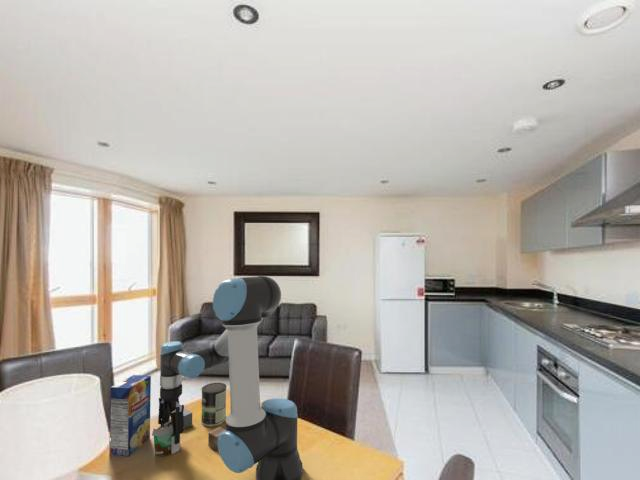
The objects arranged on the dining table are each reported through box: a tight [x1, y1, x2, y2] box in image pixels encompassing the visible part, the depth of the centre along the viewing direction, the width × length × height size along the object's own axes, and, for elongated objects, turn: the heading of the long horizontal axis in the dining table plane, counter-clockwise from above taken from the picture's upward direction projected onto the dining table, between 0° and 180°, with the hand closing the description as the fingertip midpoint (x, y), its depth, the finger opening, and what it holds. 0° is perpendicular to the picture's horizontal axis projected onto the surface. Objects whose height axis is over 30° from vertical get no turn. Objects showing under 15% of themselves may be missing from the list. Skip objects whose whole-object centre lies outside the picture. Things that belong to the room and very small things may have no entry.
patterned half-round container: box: [151, 418, 173, 457], centre depth 120 cm, size 12×6×10 cm, turn 165°
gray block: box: [183, 408, 193, 429], centre depth 137 cm, size 5×5×5 cm
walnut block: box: [208, 426, 226, 451], centre depth 122 cm, size 5×5×5 cm
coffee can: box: [200, 382, 227, 427], centre depth 141 cm, size 10×10×14 cm
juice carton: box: [108, 374, 152, 458], centre depth 122 cm, size 12×8×24 cm, turn 172°
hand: (170, 448), depth 120 cm, fingers closed on patterned half-round container, 6 cm apart
